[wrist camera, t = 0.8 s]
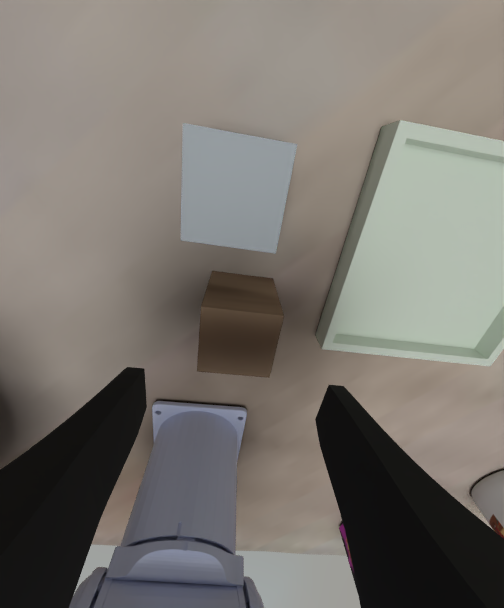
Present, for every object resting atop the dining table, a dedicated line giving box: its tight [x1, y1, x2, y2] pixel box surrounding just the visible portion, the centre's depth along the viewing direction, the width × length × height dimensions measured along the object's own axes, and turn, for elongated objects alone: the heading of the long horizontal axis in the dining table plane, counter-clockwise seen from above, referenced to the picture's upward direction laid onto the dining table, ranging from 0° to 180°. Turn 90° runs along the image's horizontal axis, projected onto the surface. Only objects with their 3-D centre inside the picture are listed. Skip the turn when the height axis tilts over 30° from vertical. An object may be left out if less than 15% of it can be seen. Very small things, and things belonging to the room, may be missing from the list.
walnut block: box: [197, 271, 284, 378], centre depth 15 cm, size 4×4×5 cm
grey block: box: [181, 123, 297, 254], centre depth 12 cm, size 4×4×5 cm
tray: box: [315, 120, 504, 366], centre depth 16 cm, size 13×13×2 cm
